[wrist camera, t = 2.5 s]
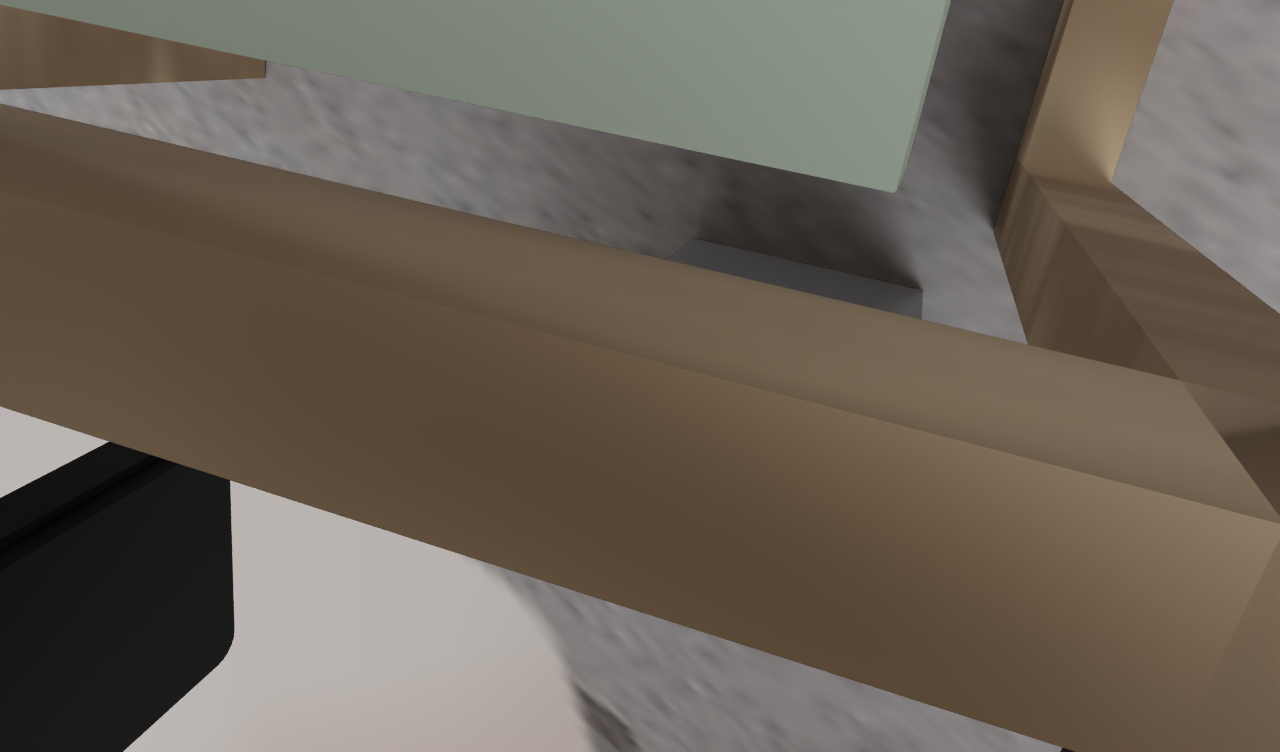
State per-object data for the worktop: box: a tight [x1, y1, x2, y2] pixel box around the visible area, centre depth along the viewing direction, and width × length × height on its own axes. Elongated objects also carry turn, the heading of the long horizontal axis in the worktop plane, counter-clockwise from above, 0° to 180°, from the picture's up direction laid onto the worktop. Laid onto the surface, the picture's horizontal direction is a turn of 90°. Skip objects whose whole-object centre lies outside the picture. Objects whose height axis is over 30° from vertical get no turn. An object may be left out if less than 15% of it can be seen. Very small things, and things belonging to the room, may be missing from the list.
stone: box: [668, 238, 923, 319], centre depth 18 cm, size 5×5×6 cm
